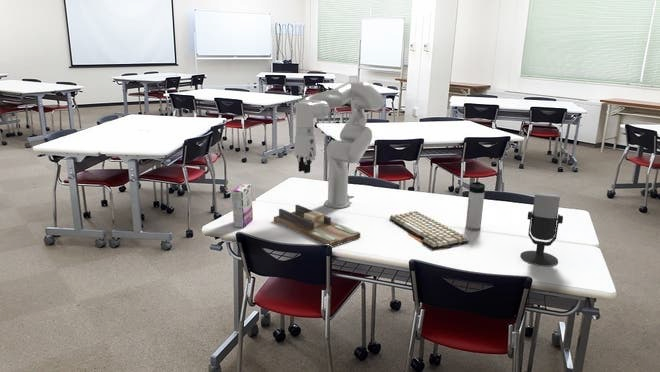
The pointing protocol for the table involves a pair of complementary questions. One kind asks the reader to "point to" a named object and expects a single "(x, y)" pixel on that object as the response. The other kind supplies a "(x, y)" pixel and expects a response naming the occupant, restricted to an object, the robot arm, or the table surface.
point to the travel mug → (475, 206)
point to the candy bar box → (242, 205)
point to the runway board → (323, 233)
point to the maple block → (315, 218)
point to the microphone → (543, 229)
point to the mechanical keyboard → (428, 231)
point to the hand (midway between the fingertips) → (304, 171)
